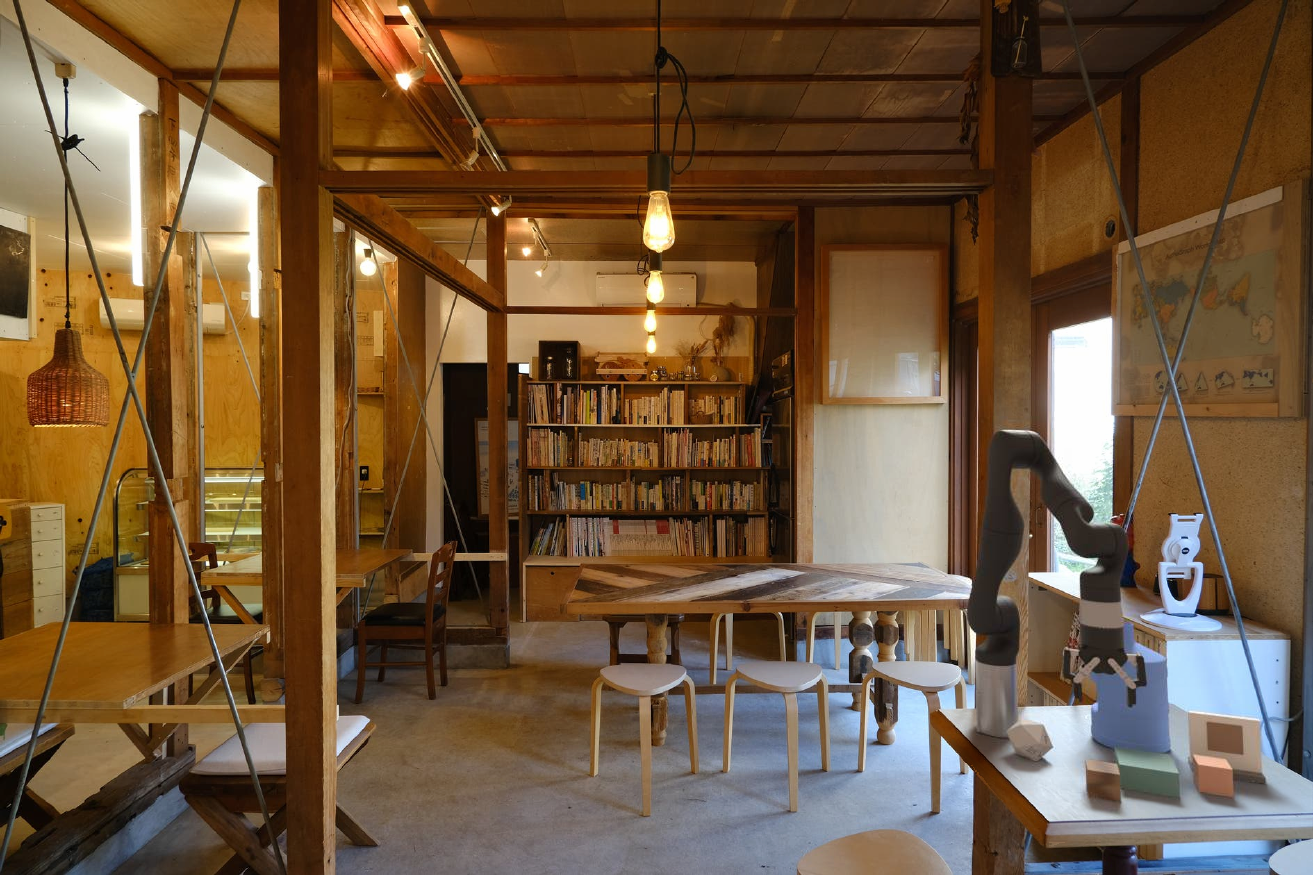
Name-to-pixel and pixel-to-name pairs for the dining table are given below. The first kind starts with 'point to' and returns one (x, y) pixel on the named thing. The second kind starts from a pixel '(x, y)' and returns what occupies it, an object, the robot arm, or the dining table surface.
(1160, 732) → the water jug
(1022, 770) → the dining table surface
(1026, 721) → the die
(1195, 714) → the placard
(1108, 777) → the walnut block
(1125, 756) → the base block
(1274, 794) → the dining table surface
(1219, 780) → the terracotta block
